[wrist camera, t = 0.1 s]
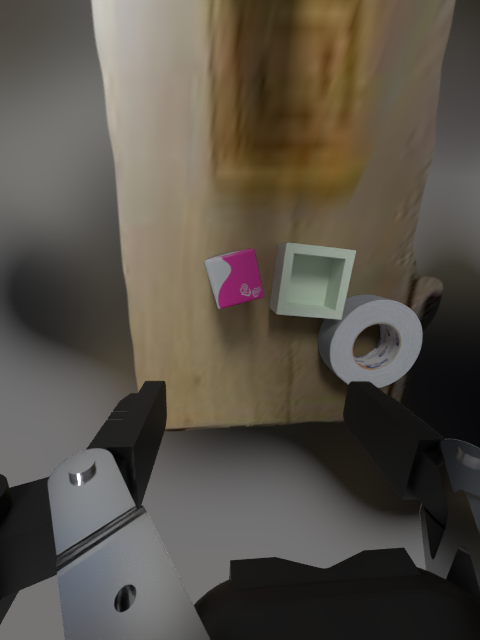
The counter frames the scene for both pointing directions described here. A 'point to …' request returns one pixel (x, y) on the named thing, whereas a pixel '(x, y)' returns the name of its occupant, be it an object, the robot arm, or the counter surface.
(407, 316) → the tape roll
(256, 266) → the supplement box
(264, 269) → the counter surface
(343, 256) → the holder
